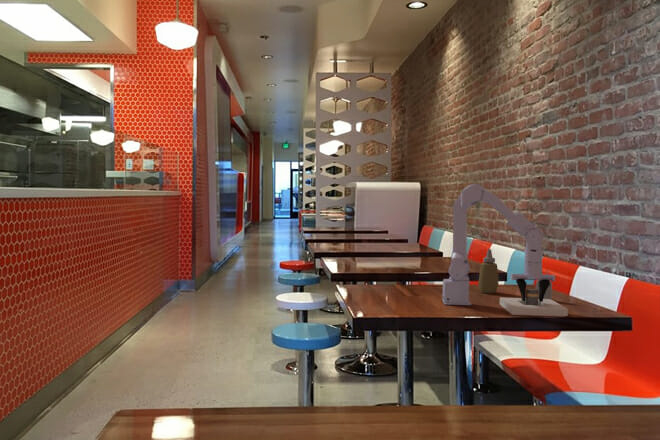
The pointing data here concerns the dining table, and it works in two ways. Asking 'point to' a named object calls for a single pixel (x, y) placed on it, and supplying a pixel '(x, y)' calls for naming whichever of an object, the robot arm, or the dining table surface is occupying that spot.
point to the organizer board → (533, 307)
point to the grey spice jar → (532, 297)
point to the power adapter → (548, 292)
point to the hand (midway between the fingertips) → (532, 300)
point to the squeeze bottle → (488, 274)
